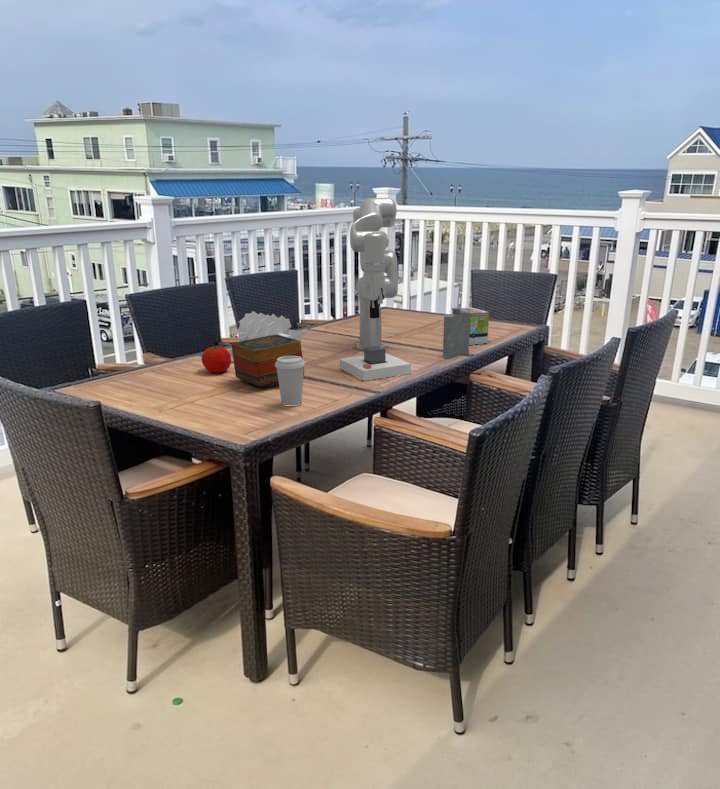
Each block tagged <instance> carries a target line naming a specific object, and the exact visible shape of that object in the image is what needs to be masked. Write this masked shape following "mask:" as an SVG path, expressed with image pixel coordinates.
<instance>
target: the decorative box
mask: <svg viewBox="0 0 720 789" xmlns="http://www.w3.org/2000/svg"><path fill="white" fill-rule="evenodd" d="M302 349H303V348H302V341H301V342H300V341H299V340H295V339H292V338H288V337H284V336H280V335H270V336H265V337H260V338H255V339H251V340H245V341H241V342H239V341H237V342H236V341H235V342H232V343H231V352H232V359H233V366H234V372H235V373H234V374H235V377H236V378H238V379H240V380H241V381H245V382H246V383H248V384H250V385H254V386H256V387H258V388H266V387H270V386H273V385H277V384H279V381H278V374H277V368H276V367H275V363H276V362H277V359H278V358H279V357H283V356H299V357H302V359H303V360H304V358H303V351H302ZM304 376H305V368H304V369H303V377H304Z"/></svg>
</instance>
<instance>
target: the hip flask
mask: <svg viewBox="0 0 720 789" xmlns="http://www.w3.org/2000/svg"><path fill="white" fill-rule="evenodd" d="M461 308H462V307H452V308H451V313H449V314H447V315H444V317H443V338H442V339H443V343H442V359H443V358H444V359H443V360H450V358H451V359H453V358H455V356H456V357H458V356H457V355H459V356H462V355H466V354H465V353H467V354H469V348H470V345H469V330H470V312H468V311H464V312H462V311H461V312H460V310H461ZM461 354H462V355H461ZM452 357H453V358H452Z"/></svg>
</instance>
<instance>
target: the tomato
mask: <svg viewBox="0 0 720 789" xmlns="http://www.w3.org/2000/svg"><path fill="white" fill-rule="evenodd" d="M201 362H202V365H203V367H204V369H206V370H207V371H208V372H211V373H213V372H214V374H220V372H221V373H223V371H224V372H226V371H227V370H228V369H229V368H230V366H231V364H232V357H231V354H230V352H229V350H228V349H226V348H225V347H224V346H223V345H222V346H221V345H220V346H218V345H213V346H211V345H209V347H208V348H206V349H205V350H204V352H202V355H201Z"/></svg>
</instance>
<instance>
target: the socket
mask: <svg viewBox="0 0 720 789" xmlns="http://www.w3.org/2000/svg"><path fill="white" fill-rule="evenodd" d="M339 369H340V370H341V369H342V370H341V371H343V370H344V371H343V372H345V371H346V372H345V373H347V372H348V373H347V374H349V373H350V374H352V375H354V376H356V377H358V378H360V379H362V380H370V381H373V380H372V379H377V380H379V379H378V378H383V379H386V378H385V377H389V378H392V377H391V376H396V377H399V376H398V375H402V376H407V375H406V374H409V375H412V363H411V362H410V363H409V362H407V361H405V360H403V359H400V358H398V357H397V356H393V355H391V354H389V353H387V352H385V363H380V364H373V365H370V364H368V363H366V362H364V355H359V356H351V357H344V358H340V359H339ZM350 374H349V375H350ZM352 375H351V376H352ZM354 376H353V377H354ZM356 377H355V378H356ZM358 378H357V379H358ZM360 379H359V380H360ZM362 380H361V381H362Z"/></svg>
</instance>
